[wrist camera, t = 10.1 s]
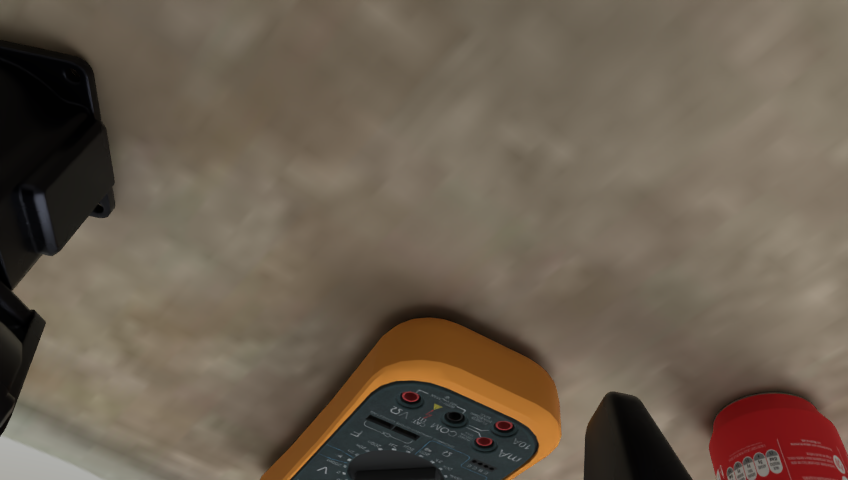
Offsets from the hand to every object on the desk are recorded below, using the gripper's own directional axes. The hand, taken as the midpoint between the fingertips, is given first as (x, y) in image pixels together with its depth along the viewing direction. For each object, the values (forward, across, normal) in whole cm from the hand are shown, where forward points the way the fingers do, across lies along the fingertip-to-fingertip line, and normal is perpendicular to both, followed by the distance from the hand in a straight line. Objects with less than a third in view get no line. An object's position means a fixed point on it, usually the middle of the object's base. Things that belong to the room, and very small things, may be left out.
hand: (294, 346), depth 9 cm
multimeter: (+13, -3, +21) cm, 25 cm away
